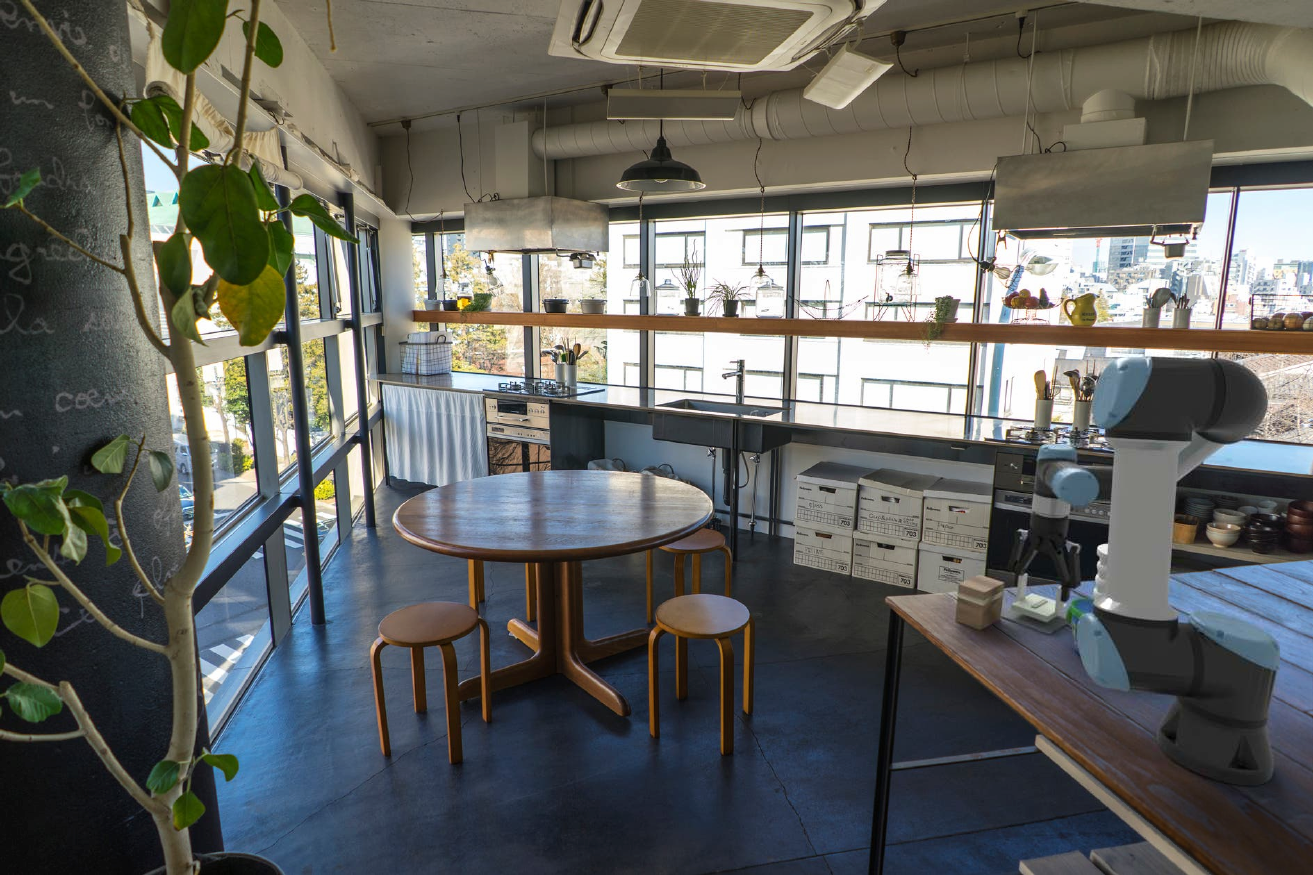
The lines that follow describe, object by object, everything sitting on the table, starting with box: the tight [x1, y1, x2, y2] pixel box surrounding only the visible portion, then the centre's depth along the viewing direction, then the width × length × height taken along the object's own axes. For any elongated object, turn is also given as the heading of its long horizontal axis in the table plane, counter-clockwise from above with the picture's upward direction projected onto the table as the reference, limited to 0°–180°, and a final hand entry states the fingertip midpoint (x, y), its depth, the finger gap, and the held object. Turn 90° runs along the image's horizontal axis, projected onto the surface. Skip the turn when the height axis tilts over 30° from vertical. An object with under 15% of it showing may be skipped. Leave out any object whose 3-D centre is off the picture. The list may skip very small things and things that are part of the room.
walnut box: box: [954, 574, 1005, 631], centre depth 165 cm, size 9×6×9 cm
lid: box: [1010, 592, 1068, 622], centre depth 166 cm, size 10×8×2 cm
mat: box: [1001, 609, 1069, 636], centre depth 167 cm, size 13×11×1 cm
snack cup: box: [1066, 598, 1095, 655], centre depth 149 cm, size 16×10×10 cm
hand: (1039, 606), depth 166 cm, fingers closed on lid, 8 cm apart
